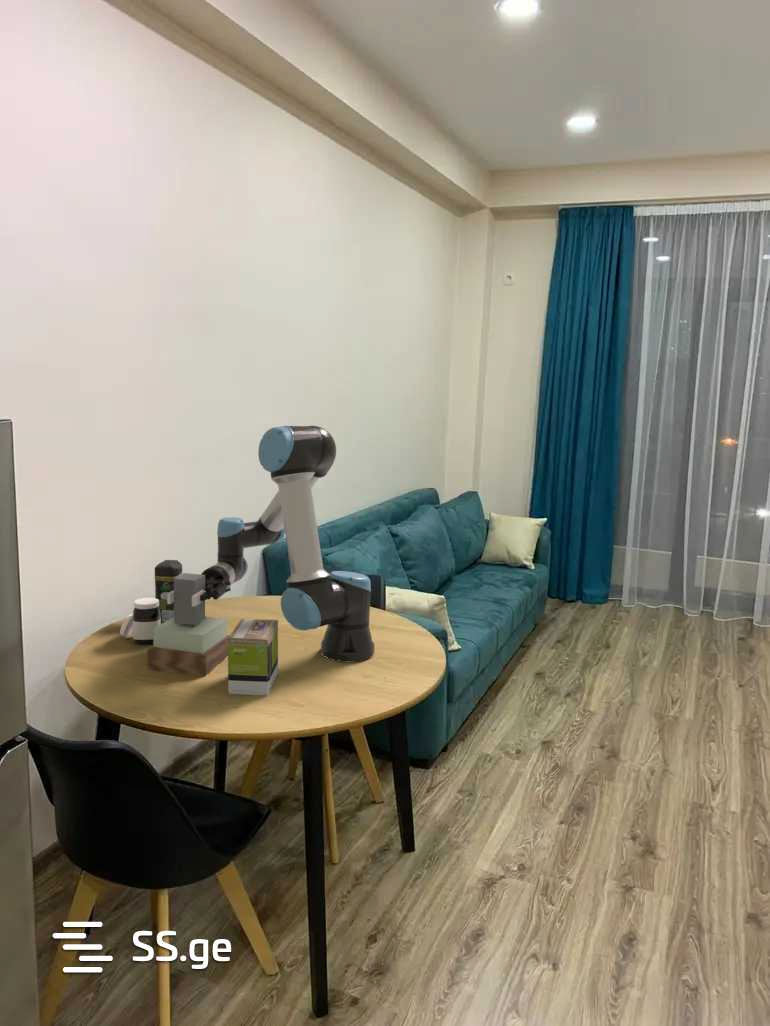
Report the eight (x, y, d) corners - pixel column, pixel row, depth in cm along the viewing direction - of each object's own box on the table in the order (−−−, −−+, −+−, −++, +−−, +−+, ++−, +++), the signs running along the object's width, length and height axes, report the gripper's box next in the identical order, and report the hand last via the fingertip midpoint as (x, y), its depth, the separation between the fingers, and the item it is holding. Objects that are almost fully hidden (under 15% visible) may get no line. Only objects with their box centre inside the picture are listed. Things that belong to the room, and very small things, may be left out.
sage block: (226, 636, 207) (227, 619, 206) (202, 653, 194) (202, 635, 193) (180, 630, 210) (180, 613, 210) (153, 646, 197) (153, 628, 196)
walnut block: (229, 656, 209) (229, 635, 208) (205, 677, 194) (205, 655, 192) (175, 650, 212) (175, 629, 211) (147, 671, 196) (147, 649, 195)
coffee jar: (160, 614, 241) (159, 557, 238) (185, 615, 241) (185, 558, 238) (152, 624, 231) (151, 565, 228) (178, 624, 232) (177, 565, 229)
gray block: (205, 618, 203) (205, 574, 201) (195, 625, 197) (195, 580, 195) (184, 616, 204) (184, 572, 202) (173, 622, 198) (173, 578, 196)
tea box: (240, 671, 198) (241, 616, 195) (278, 673, 197) (279, 618, 195) (226, 694, 183) (227, 636, 180) (268, 696, 183) (269, 638, 180)
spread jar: (160, 645, 214) (159, 605, 212) (117, 647, 211) (117, 607, 209) (161, 631, 225) (161, 593, 223) (121, 633, 222) (121, 595, 220)
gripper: (248, 594, 216) (215, 617, 193) (186, 587, 219) (146, 610, 197) (248, 568, 215) (215, 589, 192) (186, 562, 218) (146, 582, 195)
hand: (180, 600), depth 194 cm, fingers closed on gray block, 6 cm apart
